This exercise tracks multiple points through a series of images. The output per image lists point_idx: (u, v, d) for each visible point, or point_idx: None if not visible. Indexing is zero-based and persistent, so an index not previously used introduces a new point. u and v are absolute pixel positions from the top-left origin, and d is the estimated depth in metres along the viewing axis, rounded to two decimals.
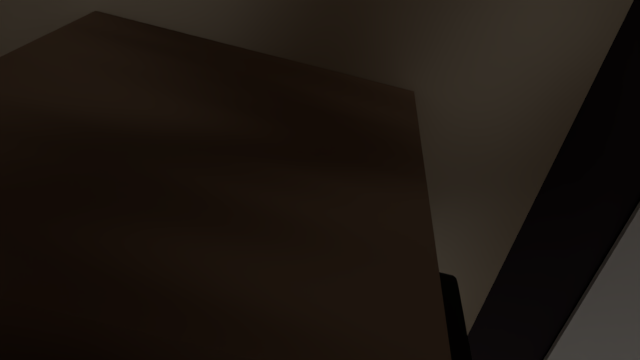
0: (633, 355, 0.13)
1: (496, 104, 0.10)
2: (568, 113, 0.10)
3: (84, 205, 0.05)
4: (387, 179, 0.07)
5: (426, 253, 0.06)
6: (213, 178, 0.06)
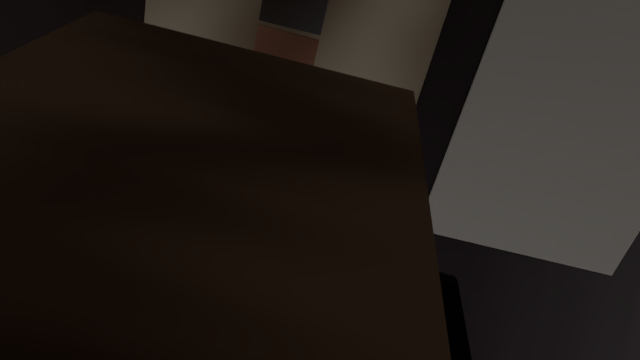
0: (499, 124, 0.24)
1: None
2: None
3: (86, 202, 0.05)
4: (387, 177, 0.07)
5: (425, 252, 0.06)
6: (213, 177, 0.06)
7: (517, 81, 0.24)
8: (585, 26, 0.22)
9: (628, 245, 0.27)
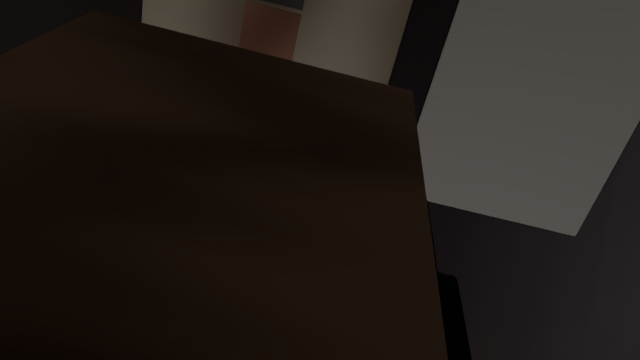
0: (466, 93, 0.27)
1: None
2: None
3: (81, 203, 0.05)
4: (385, 177, 0.07)
5: (423, 252, 0.06)
6: (210, 178, 0.06)
7: (482, 53, 0.26)
8: (541, 1, 0.24)
9: (589, 207, 0.29)
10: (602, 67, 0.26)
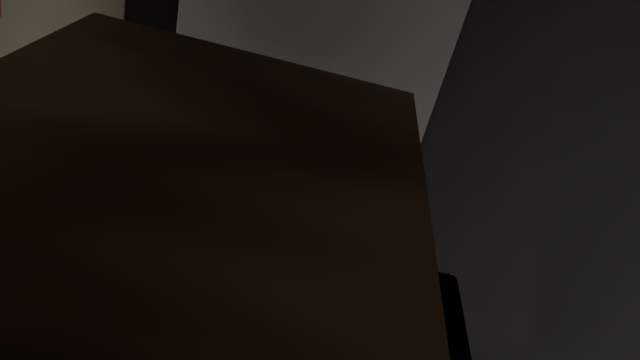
0: None
1: None
2: None
3: (82, 208, 0.05)
4: (387, 181, 0.07)
5: (425, 258, 0.06)
6: (211, 181, 0.06)
7: None
8: None
9: None
10: (381, 17, 0.20)
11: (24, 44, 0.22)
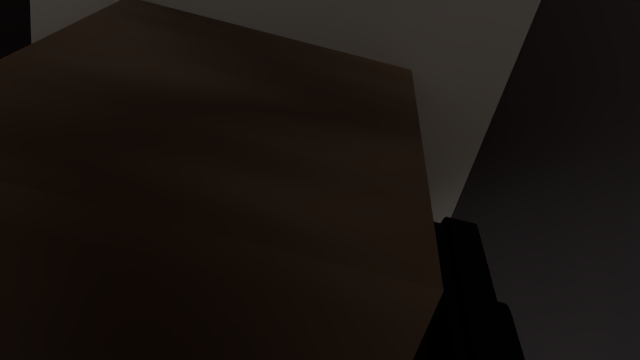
0: None
1: None
2: None
3: (143, 144, 0.07)
4: (389, 136, 0.08)
5: (420, 190, 0.07)
6: (243, 129, 0.07)
7: None
8: None
9: None
10: None
11: None
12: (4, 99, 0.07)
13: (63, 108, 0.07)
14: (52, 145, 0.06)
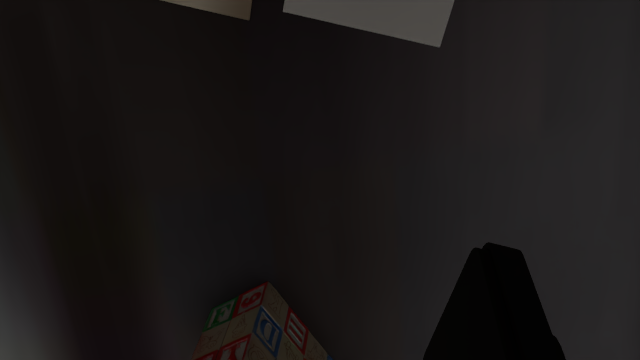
0: None
1: None
2: None
3: None
4: None
5: None
6: None
7: None
8: None
9: (448, 18, 0.34)
10: None
11: None
12: None
13: None
14: None
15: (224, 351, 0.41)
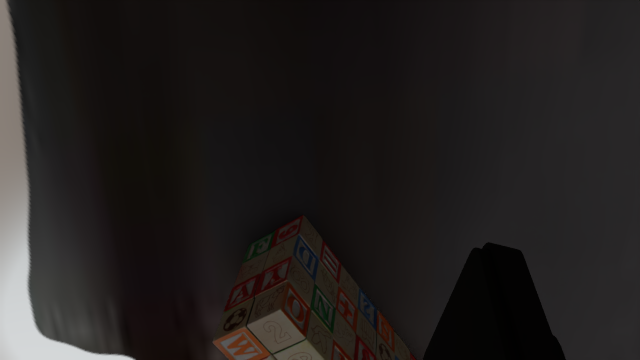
0: None
1: None
2: None
3: None
4: None
5: None
6: None
7: None
8: None
9: None
10: None
11: None
12: None
13: None
14: None
15: (266, 273, 0.43)
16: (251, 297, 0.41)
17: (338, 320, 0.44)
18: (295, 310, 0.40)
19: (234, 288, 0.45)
